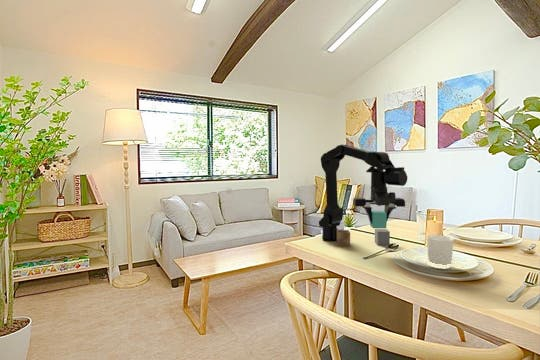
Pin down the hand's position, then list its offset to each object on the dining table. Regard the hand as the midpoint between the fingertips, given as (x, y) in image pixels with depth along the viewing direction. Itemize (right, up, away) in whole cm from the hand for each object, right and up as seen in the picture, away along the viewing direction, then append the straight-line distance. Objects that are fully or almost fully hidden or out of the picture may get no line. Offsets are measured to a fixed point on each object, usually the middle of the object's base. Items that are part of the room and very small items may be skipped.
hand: (378, 223), depth 123 cm
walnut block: (-11, -11, +12) cm, 19 cm away
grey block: (+6, -11, +13) cm, 18 cm away
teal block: (0, -1, 0) cm, 1 cm away
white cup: (+16, -13, -16) cm, 26 cm away
